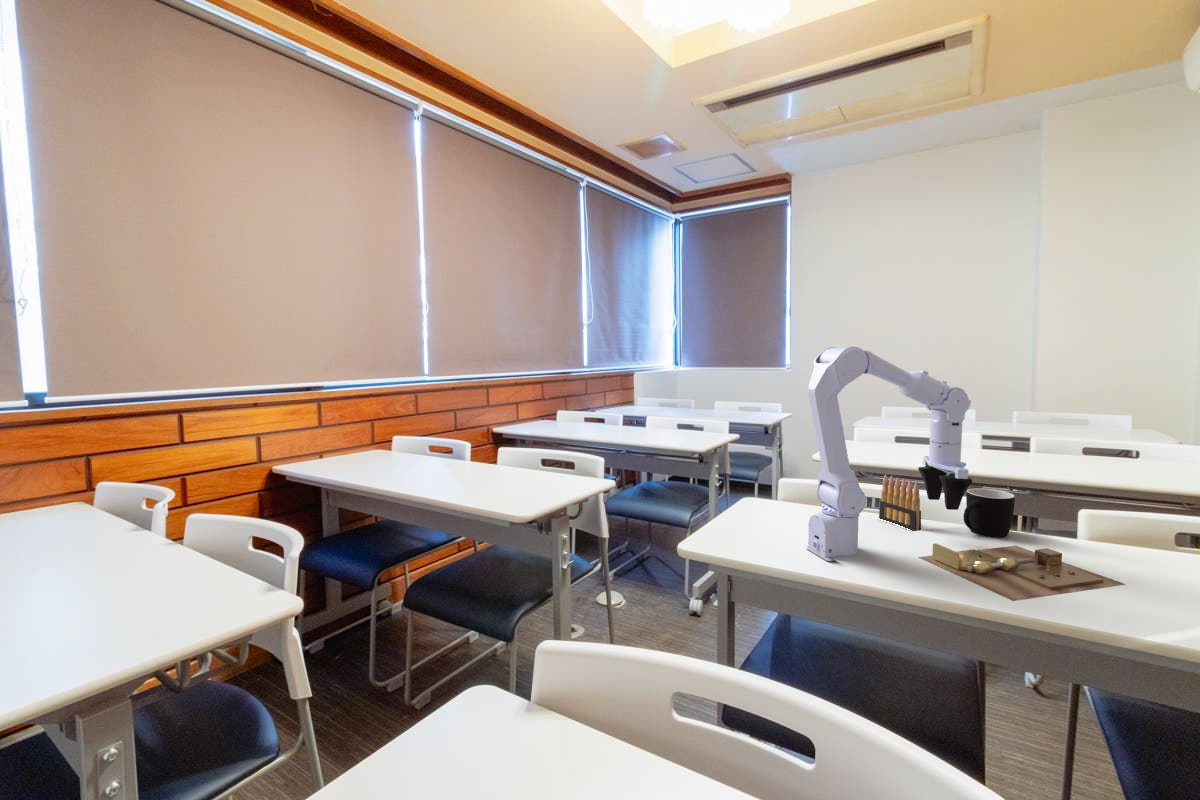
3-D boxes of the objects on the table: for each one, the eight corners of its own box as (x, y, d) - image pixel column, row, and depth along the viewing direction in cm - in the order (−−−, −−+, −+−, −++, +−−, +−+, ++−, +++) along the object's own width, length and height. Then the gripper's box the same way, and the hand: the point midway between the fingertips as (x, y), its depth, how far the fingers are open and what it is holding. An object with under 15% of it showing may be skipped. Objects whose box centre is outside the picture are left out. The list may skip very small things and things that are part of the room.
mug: (983, 527, 128) (985, 486, 127) (1022, 539, 120) (1024, 495, 119) (945, 533, 125) (947, 491, 124) (983, 546, 116) (985, 501, 115)
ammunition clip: (921, 531, 127) (923, 482, 126) (915, 532, 126) (917, 483, 125) (884, 518, 137) (885, 473, 136) (878, 519, 136) (879, 473, 135)
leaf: (989, 550, 111) (990, 536, 111) (1037, 568, 102) (1038, 553, 101) (930, 557, 108) (931, 543, 108) (973, 576, 98) (974, 560, 98)
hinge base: (1046, 561, 105) (1047, 548, 105) (1103, 582, 96) (1104, 567, 95) (997, 568, 103) (997, 554, 102) (1050, 590, 93) (1051, 574, 93)
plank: (1012, 605, 90) (1013, 600, 89) (917, 560, 109) (918, 557, 109) (1125, 588, 95) (1125, 584, 95) (1015, 549, 114) (1016, 545, 114)
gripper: (985, 448, 106) (982, 514, 107) (947, 437, 121) (944, 495, 122) (948, 447, 107) (945, 513, 108) (914, 436, 121) (912, 495, 123)
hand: (942, 504), depth 115 cm, fingers open, 7 cm apart
